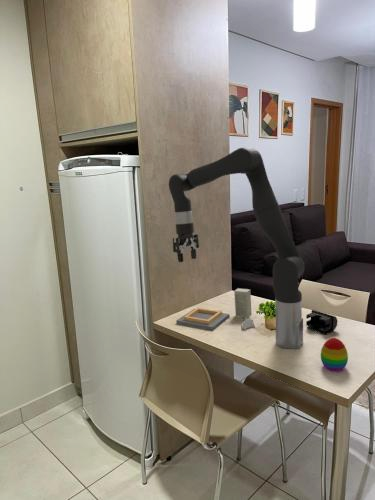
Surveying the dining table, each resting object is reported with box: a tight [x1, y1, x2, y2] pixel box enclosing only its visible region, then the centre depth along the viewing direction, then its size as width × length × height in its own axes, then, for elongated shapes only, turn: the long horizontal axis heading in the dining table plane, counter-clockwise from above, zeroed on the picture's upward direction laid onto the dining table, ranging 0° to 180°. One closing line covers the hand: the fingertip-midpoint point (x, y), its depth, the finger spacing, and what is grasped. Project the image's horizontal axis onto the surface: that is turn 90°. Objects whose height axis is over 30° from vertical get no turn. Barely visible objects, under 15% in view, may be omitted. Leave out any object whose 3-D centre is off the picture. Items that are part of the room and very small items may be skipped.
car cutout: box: [240, 317, 256, 331], centre depth 155 cm, size 15×7×4 cm, turn 123°
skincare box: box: [233, 287, 253, 319], centre depth 169 cm, size 6×4×12 cm
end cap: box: [305, 309, 338, 336], centre depth 151 cm, size 10×7×7 cm
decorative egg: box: [320, 337, 349, 372], centre depth 121 cm, size 8×8×10 cm
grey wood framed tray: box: [175, 307, 230, 331], centre depth 167 cm, size 18×16×3 cm
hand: (187, 260), depth 161 cm, fingers open, 8 cm apart
